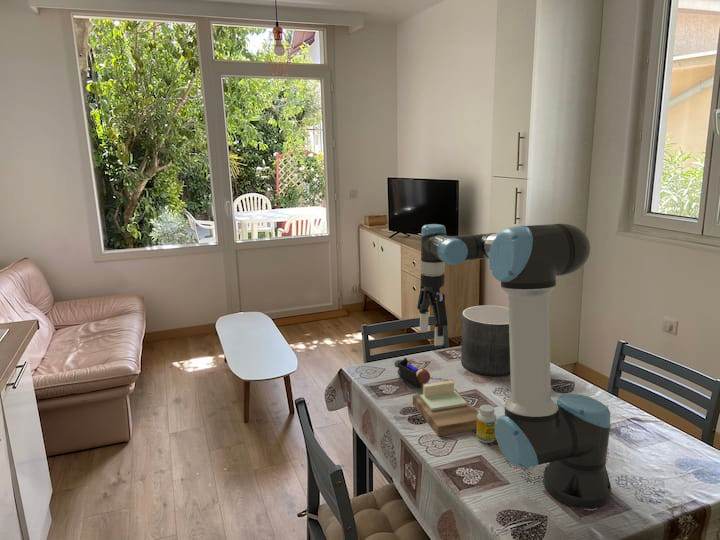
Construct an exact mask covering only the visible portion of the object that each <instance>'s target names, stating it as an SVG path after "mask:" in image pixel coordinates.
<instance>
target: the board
mask: <svg viewBox="0 0 720 540" xmlns="http://www.w3.org/2000/svg"><path fill="white" fill-rule="evenodd" d="M454 390H455V391H456V392H457V393H458V394H459V395H460V396H461V397H462V398H463V399H464V400H465V401H466V402H467V405H466V406H460V407H453V408H447V409H441V410H435V411H431V410H430V409H429V408H428V406H427V405H426V404H425V403H424V402H423V400H422V399H421V398H420V395H423V393H420V394H412V405H413V406H414V407H415V409H416V410H417V412H419V414H420V415H421V416H422V418H423V419H424V421H426V423H427V424H428V425H429V426H430V428H431V429H432V430H433V432H434V433H435V434H436V436H438V437H441V436H446V435H450V434H457V433H463V432H468V431H475V430H477V415H478V413H479V412H480V411H478V410H477V409H476V408H475V407H474V406H473V404H471V403H470V402H469V401H468V400H467V399H466V398H465V397H464V396H463V395H462V394H461V392H459V391H458V390H457V389H456V388H454Z"/></svg>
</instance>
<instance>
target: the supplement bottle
mask: <svg viewBox="0 0 720 540" xmlns="http://www.w3.org/2000/svg"><path fill="white" fill-rule="evenodd" d="M478 412H479V413H478V415H477V429H476V433H475V434H476V439H477V440H478V441H480V442H482V443H487V444H488V443H493V442H494V441H496V435H495V421H496V420H497V416H496V414H495V407H494V406H492V405H491V404H481V405H480V406H479V411H478Z"/></svg>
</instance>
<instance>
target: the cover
mask: <svg viewBox="0 0 720 540" xmlns="http://www.w3.org/2000/svg"><path fill="white" fill-rule="evenodd" d="M454 389H455V382H454V381H453V380H445V381H440V382H432V383H428V384H427V383H426V384H422V394H423V395H420V398H421V399H422V400H423V402H424V403H425V404H426V405H427V406H428V408H429V409H430V410H431V411H435V410H441V409H447V408H453V407H460V406H466V405H467V402H466V401H465V400H464V399H463V398H462V397H461V396H460V395H459V394H458V393H457V392H456V391H455V390H454Z"/></svg>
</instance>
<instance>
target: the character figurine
mask: <svg viewBox="0 0 720 540" xmlns="http://www.w3.org/2000/svg"><path fill="white" fill-rule="evenodd" d="M393 365H394V367H395V368H398V369H397V375H398V376H400V377H401V378H402V379H403V380H404V381H405V382H407V383H408V384H410V385H412V386H414V387H416V388H417V389H420V388H421V386H420V384H421V385H425V384H427V383H428V382H429V381H430V380H431V375H430V372H429V371H428V370H427V369H425V368H420V369H419V368H418V367H415V366H413V365H412V362H411V361H408V359H407V357H404V359H403V360H402V359H397V360H395V362H394V364H393Z"/></svg>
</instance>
